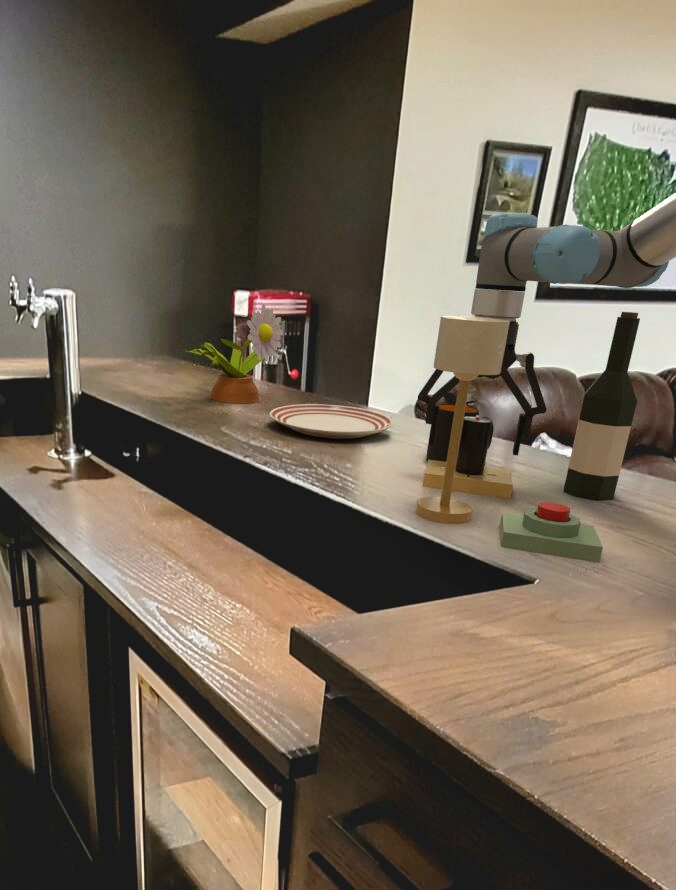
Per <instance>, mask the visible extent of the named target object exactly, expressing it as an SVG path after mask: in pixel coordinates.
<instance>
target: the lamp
mask: <svg viewBox="0 0 676 890" xmlns="http://www.w3.org/2000/svg"><path fill="white" fill-rule="evenodd" d="M509 322H510V321H507V320H501V319H492V318H480V317H474V316H466V315H465V316H464V315H441V316H440V320H439V327H438V333H437V340H436V346H435V347H436V348H435V353H434V360H433V368H434V369H435V370H436V369H438V370H442V371H443V372H447V373H453V375H454V376H456V378H458V379H459V380H460V381H459V383H458V388H457V394H456V401H455V405H456V406H455V412H454V418H453V424H452V431H451V437H450V443H449V449H448V455H447V462H446V468H445V474H444V480H443V487H442V489H441V493H440V494H441V495H440V496H425V497H421V498H419V499H417V501H416V506H415V514H416V515H418V516H419V517H420V518H423V519H425V520H428V521H431V522H435V523H441V524H448V525H458V524H459V525H461V524H466V523H469V522H470V521H471V520H472V514H473V507H472V506H471V504H468V503H466V502H464V501H461V500H459V499H453V498H452V493H453V491H452V487H453V481H454V475H455V469H456V463H457V457H458V450H459V444H460V438H461V432H462V426H463V420H464V414H465V408H466V406H467V403H468V396H469V389H470V383H471V381H473V380H475V379H477V378H479V377H478V375H498V374H500V373H501V367H502V362H503V356H504V350H505V345H506V339H507V334H508V328H509Z"/></svg>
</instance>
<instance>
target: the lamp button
mask: <svg viewBox="0 0 676 890" xmlns="http://www.w3.org/2000/svg"><path fill="white" fill-rule="evenodd" d="M536 508H537V513H536V516H537V517H539V518H541V519H545V520H548V521H554V522H568V519H569V514H571V508H570V507H569V506H567V505H565V504H562V503H557V502H550V501H547V502H546V501H544V502H543V501H542V502H539V503H538V504H537V507H536Z"/></svg>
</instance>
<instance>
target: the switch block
mask: <svg viewBox="0 0 676 890" xmlns="http://www.w3.org/2000/svg"><path fill="white" fill-rule="evenodd" d="M537 508H538V507H532V508H531V507H530V508H528V509H525V510H524V512H523V515H522V514H515V513H509V512H501V516H500V521H499V527H498V528H499V538H500V540H499V541H500V548H502V549H503V548H505V549H509V550H517V551H524V552H528V553H529V552H530V553H535V554H542V555H549V556H553V557H561V558H568V559H574V560H578V561H579V560H580V561H587V562H591V563H600V561H601V556H602V553H603V548H604V547H603V544H602V542H601V540H600V538H599V536H598V534H597V531H596V529H595V527H594V525H591V524H584V523H582V522H581V520H580V518H579V517H577V516H576V515H574V514H572V513H570V514H569V519H568V522H554V521H548V520H545V519H541V518H539V517H537V516H536V513H537Z"/></svg>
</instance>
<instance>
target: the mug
mask: <svg viewBox="0 0 676 890" xmlns="http://www.w3.org/2000/svg"><path fill="white" fill-rule="evenodd" d="M438 405H440V407H439V413H438V420H437V426H436V433H435V439H434V444H433V445H429V441H428V443H427V449H426V456H425V459H426V461H428V460H435V461H443V462H447V455H448V449H449V443H450V437H451V431H452V424H453V418H454V412H455V406H456V404H453V403H451V404H449V403H439V404H438ZM476 415H480V409H478V408H475V407H472V406H467V405H466V408H465V414H464V417H468V416H471V417H476ZM481 417H482V418H487V419H490V420H492V419H491V418H489V417H488V416H481ZM431 425H432V424H430V426H431ZM494 429H495V428H494V422H492V428H491V433H490V439H489V444H488V450H489V449H490V447H491V445H492V440H493V436H494ZM430 432H431V428H430V430H429V433H430ZM429 439H430V434H429V436H428V440H429Z"/></svg>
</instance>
